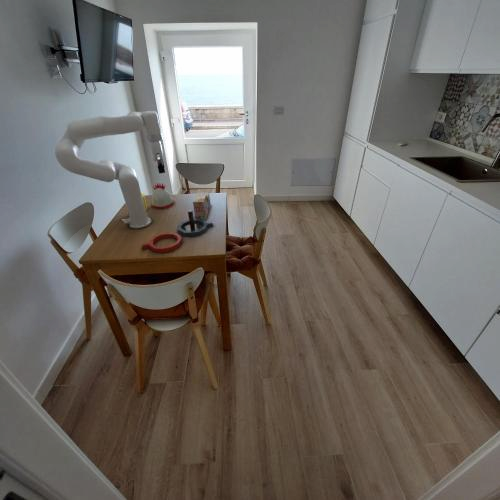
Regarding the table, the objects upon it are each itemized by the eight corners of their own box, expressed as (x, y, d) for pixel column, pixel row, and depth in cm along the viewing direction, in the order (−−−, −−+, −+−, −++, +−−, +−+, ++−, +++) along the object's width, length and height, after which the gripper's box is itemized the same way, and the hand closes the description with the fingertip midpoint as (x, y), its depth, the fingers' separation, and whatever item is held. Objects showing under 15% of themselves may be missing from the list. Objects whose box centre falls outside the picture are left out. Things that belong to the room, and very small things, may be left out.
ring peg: (187, 234, 150) (183, 215, 143) (184, 227, 156) (181, 209, 150) (201, 231, 152) (198, 212, 146) (198, 225, 158) (196, 206, 152)
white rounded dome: (170, 208, 177) (165, 186, 169) (149, 208, 178) (143, 187, 170) (175, 200, 189) (171, 179, 181) (156, 200, 190) (151, 179, 181)
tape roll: (148, 206, 182) (145, 192, 177) (146, 212, 174) (142, 198, 168) (133, 207, 181) (129, 194, 175) (130, 214, 172) (126, 200, 167)
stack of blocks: (201, 205, 181) (199, 187, 174) (210, 205, 181) (208, 187, 174) (195, 220, 163) (192, 201, 156) (205, 220, 163) (203, 201, 156)
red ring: (143, 256, 132) (142, 252, 131) (142, 240, 145) (141, 237, 144) (183, 248, 138) (182, 244, 136) (179, 234, 150) (178, 230, 149)
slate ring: (209, 219, 163) (209, 216, 162) (215, 232, 151) (215, 228, 150) (177, 225, 158) (176, 222, 157) (180, 238, 146) (180, 235, 144)
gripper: (147, 135, 147) (154, 166, 157) (146, 142, 134) (155, 176, 143) (161, 133, 149) (168, 165, 159) (162, 140, 135) (169, 174, 145)
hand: (161, 170), depth 151 cm, fingers open, 9 cm apart
